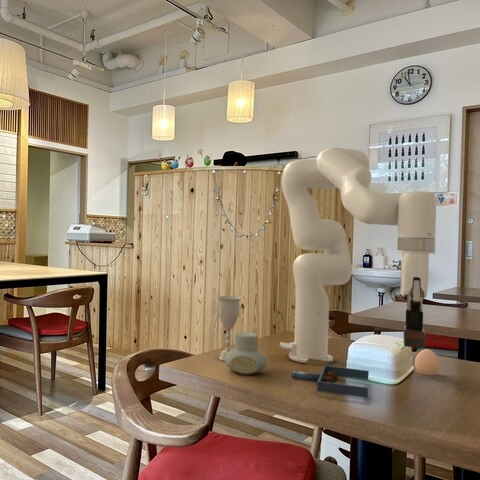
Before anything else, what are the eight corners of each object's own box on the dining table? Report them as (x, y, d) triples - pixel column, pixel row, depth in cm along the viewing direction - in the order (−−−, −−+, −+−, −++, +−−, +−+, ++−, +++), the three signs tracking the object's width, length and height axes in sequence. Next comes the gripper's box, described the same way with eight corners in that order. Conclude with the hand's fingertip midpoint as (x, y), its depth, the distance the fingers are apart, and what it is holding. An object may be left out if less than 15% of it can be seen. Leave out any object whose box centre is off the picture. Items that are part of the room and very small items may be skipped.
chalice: (234, 363, 137) (235, 299, 137) (211, 359, 140) (213, 297, 140) (242, 358, 143) (244, 297, 143) (221, 354, 147) (223, 295, 147)
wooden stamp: (404, 346, 106) (404, 307, 106) (403, 340, 113) (404, 303, 113) (424, 348, 104) (425, 309, 104) (422, 341, 111) (423, 305, 111)
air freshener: (267, 369, 131) (268, 332, 131) (265, 378, 123) (266, 338, 123) (226, 365, 134) (227, 329, 134) (222, 373, 126) (223, 335, 126)
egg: (433, 382, 123) (434, 353, 123) (410, 377, 128) (411, 348, 128) (443, 379, 126) (444, 350, 126) (420, 374, 131) (421, 346, 131)
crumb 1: (338, 377, 117) (331, 386, 117) (341, 376, 119) (334, 384, 120) (328, 369, 118) (321, 378, 119) (331, 368, 120) (324, 376, 121)
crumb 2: (323, 377, 113) (336, 381, 112) (325, 372, 116) (337, 377, 115) (320, 387, 114) (332, 392, 113) (322, 382, 117) (333, 387, 116)
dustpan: (368, 384, 120) (368, 370, 120) (367, 403, 105) (367, 388, 105) (295, 374, 127) (296, 361, 127) (285, 391, 112) (286, 376, 112)
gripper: (396, 246, 118) (394, 321, 118) (398, 246, 103) (396, 332, 103) (431, 247, 115) (429, 324, 115) (439, 247, 100) (437, 336, 100)
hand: (413, 327), depth 109 cm, fingers closed on wooden stamp, 2 cm apart
